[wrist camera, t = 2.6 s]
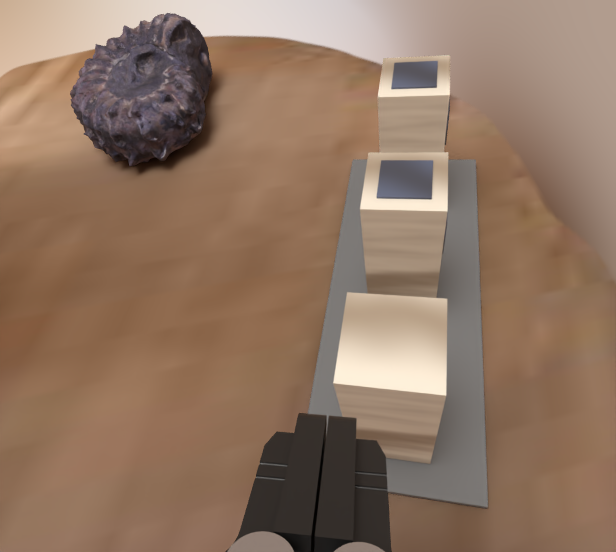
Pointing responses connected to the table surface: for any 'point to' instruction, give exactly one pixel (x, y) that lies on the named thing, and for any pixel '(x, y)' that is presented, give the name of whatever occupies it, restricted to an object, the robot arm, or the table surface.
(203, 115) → the dark grey rough lump
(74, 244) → the table surface
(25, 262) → the table surface
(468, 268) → the gray mat
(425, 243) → the labelled block
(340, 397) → the plain block
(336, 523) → the robot arm
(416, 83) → the labelled block
